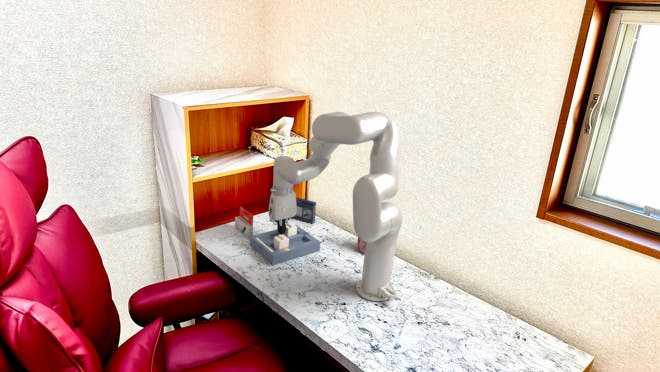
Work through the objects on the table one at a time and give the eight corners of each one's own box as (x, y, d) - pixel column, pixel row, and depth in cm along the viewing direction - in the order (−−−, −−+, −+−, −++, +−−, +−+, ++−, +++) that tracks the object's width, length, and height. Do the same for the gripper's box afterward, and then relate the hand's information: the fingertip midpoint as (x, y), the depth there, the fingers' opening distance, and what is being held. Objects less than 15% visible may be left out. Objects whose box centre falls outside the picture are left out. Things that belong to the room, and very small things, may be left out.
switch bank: (319, 250, 167) (320, 241, 166) (272, 265, 154) (273, 255, 153) (295, 233, 179) (295, 224, 178) (250, 245, 167) (250, 236, 165)
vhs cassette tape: (276, 214, 195) (277, 194, 192) (279, 212, 198) (280, 192, 194) (311, 225, 188) (313, 204, 184) (315, 222, 190) (316, 202, 187)
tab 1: (288, 250, 161) (289, 237, 159) (279, 253, 159) (279, 240, 157) (282, 246, 164) (283, 233, 162) (273, 248, 161) (274, 235, 159)
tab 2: (296, 238, 171) (297, 225, 169) (287, 240, 168) (288, 227, 167) (290, 233, 174) (291, 221, 172) (282, 236, 171) (283, 223, 169)
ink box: (248, 238, 172) (248, 216, 168) (234, 228, 180) (234, 206, 176) (253, 237, 173) (253, 215, 170) (239, 226, 181) (239, 205, 178)
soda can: (375, 255, 167) (378, 228, 162) (357, 254, 167) (360, 226, 162) (373, 247, 173) (377, 220, 169) (356, 245, 173) (359, 218, 169)
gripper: (271, 196, 154) (269, 241, 161) (305, 189, 163) (302, 232, 170) (260, 189, 159) (259, 233, 166) (294, 182, 168) (292, 224, 175)
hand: (281, 232), depth 168 cm, fingers closed
